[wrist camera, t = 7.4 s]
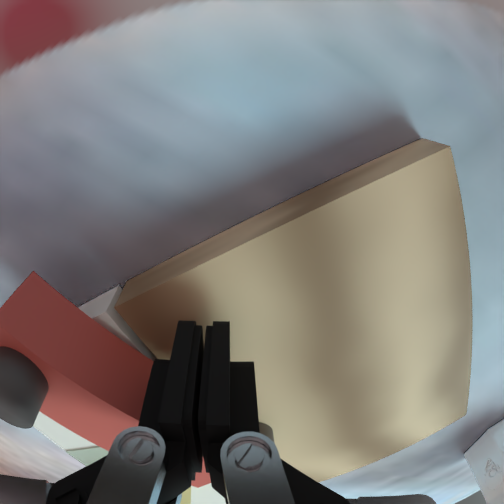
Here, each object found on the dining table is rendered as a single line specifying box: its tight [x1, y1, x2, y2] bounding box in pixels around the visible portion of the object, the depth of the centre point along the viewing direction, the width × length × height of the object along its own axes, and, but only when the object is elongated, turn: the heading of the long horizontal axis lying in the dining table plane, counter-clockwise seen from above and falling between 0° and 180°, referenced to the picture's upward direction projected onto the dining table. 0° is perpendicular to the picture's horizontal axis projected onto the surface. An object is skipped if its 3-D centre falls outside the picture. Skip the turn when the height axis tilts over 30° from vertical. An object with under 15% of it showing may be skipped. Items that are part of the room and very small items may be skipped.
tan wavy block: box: [114, 138, 472, 482], centre depth 12 cm, size 13×18×5 cm
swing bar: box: [0, 271, 211, 488], centre depth 9 cm, size 10×3×4 cm, turn 45°
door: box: [33, 285, 226, 504], centre depth 15 cm, size 11×18×4 cm, turn 26°
